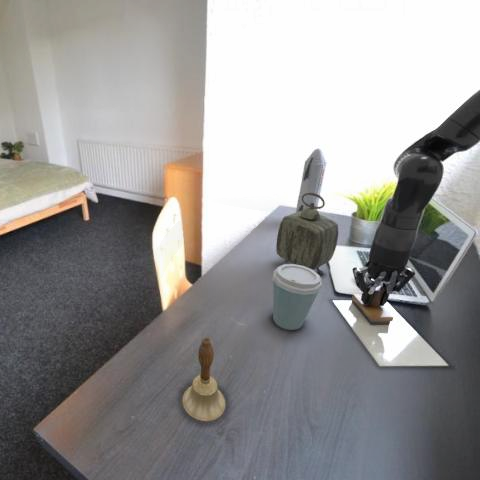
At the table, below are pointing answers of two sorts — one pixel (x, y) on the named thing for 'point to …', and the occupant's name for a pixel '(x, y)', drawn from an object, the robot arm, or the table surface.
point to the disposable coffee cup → (294, 294)
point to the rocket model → (312, 179)
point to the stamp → (373, 308)
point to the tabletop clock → (307, 237)
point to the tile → (390, 339)
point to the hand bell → (204, 389)
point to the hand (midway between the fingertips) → (372, 303)
